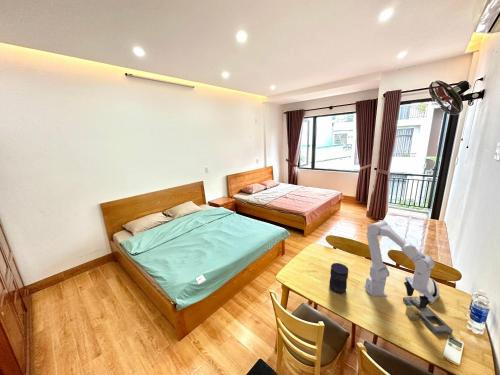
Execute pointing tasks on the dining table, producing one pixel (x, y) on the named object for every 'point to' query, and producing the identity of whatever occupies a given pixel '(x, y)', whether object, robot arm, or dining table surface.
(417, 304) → the zinc nut
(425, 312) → the grey recessed tray
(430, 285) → the white black rounded piece
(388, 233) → the robot arm
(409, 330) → the dining table surface
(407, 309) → the brass nut
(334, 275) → the storage jar
